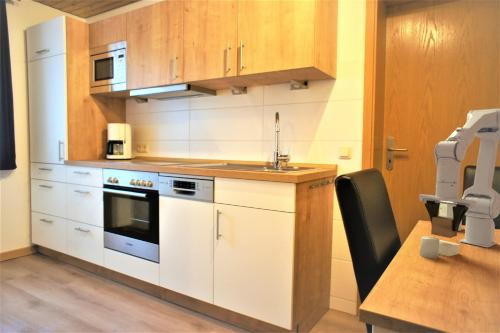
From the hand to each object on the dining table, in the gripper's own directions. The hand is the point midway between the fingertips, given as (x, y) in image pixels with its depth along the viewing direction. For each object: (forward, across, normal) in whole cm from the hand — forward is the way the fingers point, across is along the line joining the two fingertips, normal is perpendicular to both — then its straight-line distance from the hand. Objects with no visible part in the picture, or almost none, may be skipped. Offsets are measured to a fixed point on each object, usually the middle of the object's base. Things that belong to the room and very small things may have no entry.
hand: (444, 228), depth 95 cm
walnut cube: (+2, 0, 0) cm, 2 cm away
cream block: (+7, 0, 0) cm, 7 cm away
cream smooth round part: (+7, 0, -8) cm, 11 cm away
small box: (+7, -13, +40) cm, 43 cm away
